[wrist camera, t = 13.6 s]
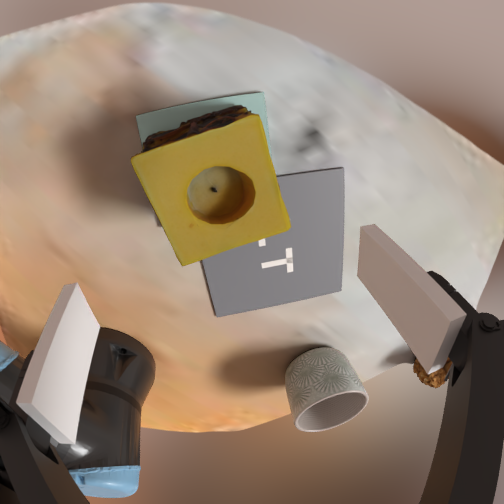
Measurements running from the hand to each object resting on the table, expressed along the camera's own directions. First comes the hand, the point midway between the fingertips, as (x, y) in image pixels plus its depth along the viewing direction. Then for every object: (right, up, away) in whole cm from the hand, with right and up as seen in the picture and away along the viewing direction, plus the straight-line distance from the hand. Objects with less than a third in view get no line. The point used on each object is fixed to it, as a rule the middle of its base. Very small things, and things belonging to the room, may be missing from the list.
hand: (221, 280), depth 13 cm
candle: (-3, +11, +18) cm, 21 cm away
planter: (+12, -18, +38) cm, 44 cm away
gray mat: (+4, +2, +25) cm, 25 cm away
